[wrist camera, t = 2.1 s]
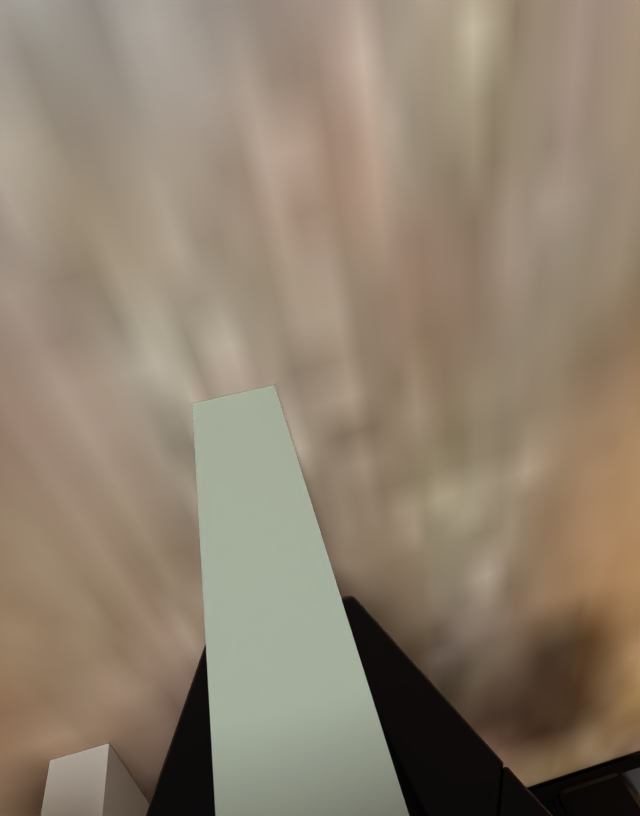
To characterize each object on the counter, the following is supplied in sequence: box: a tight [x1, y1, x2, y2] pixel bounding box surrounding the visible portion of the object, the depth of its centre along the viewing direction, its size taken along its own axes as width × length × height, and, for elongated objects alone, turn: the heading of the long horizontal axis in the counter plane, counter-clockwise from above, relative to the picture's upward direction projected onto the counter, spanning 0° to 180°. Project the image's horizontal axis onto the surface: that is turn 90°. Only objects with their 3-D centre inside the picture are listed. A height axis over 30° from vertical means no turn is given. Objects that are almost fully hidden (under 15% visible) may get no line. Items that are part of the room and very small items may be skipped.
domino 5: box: [192, 385, 409, 816], centre depth 9 cm, size 5×2×8 cm, turn 8°
